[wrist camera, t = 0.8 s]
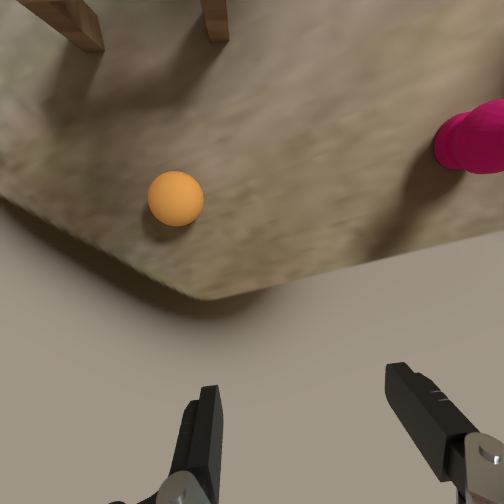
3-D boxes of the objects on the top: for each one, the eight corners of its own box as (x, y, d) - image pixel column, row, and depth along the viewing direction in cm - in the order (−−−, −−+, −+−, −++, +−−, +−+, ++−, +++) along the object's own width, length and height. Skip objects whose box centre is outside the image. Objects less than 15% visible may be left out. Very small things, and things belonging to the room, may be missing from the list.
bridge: (77, 16, 26) (-10, -65, 17) (225, 5, 27) (218, -80, 18) (85, 52, 27) (7, -7, 18) (229, 40, 28) (223, -23, 18)
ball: (152, 173, 31) (133, 174, 26) (202, 168, 31) (194, 169, 26) (162, 222, 33) (145, 234, 27) (209, 218, 33) (203, 228, 28)
